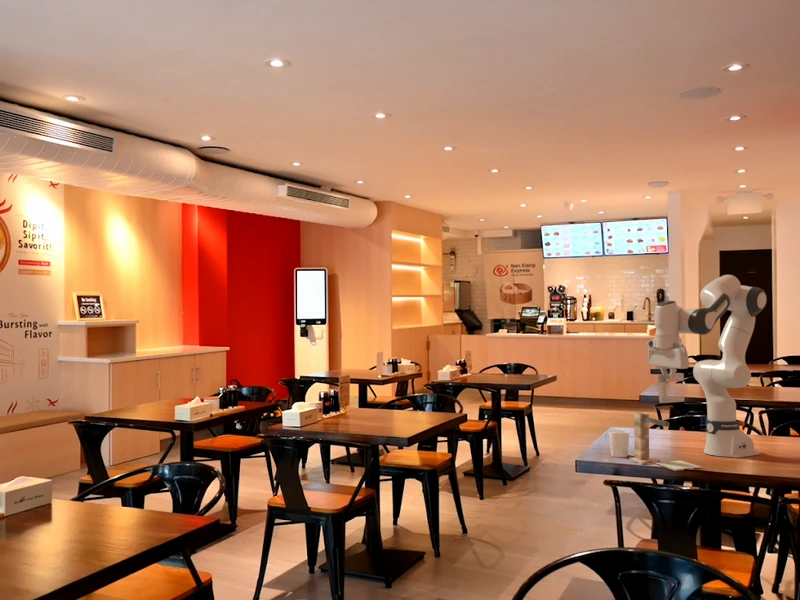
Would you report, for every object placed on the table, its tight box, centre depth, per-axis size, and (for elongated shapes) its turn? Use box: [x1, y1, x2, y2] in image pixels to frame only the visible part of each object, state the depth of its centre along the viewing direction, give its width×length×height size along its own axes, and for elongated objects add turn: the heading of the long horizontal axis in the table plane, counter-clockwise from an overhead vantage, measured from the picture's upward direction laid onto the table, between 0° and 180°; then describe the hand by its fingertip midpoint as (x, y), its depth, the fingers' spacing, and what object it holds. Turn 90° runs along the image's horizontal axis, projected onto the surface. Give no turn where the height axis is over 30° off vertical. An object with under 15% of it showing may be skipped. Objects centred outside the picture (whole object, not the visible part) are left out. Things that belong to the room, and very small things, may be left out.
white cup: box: [608, 429, 630, 458], centre depth 297 cm, size 8×8×10 cm
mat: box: [655, 460, 703, 472], centre depth 277 cm, size 12×12×1 cm
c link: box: [657, 372, 685, 404], centre depth 277 cm, size 10×2×11 cm, turn 107°
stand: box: [628, 412, 670, 465], centre depth 281 cm, size 9×18×19 cm, turn 17°
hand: (668, 378), depth 277 cm, fingers closed on c link, 2 cm apart
